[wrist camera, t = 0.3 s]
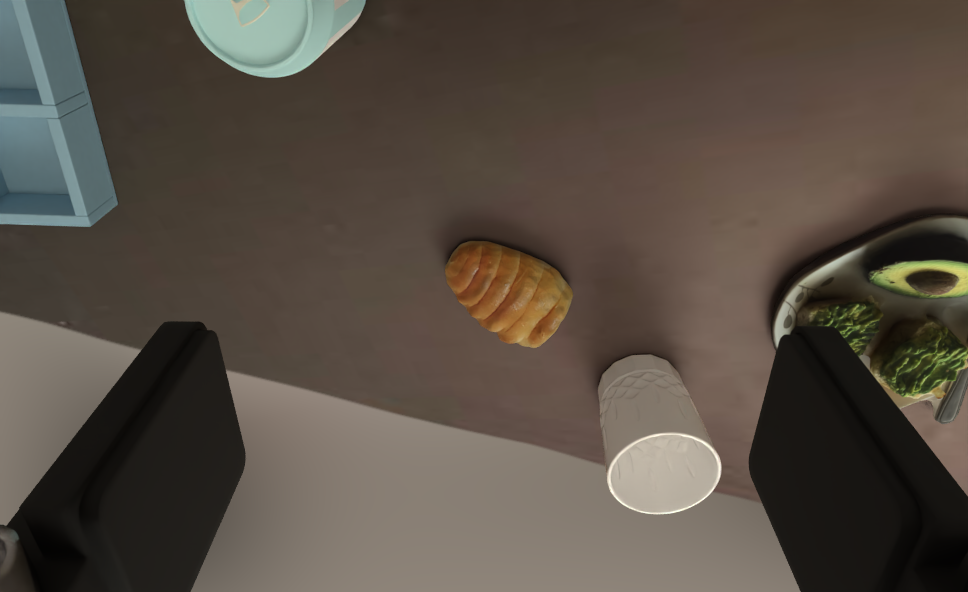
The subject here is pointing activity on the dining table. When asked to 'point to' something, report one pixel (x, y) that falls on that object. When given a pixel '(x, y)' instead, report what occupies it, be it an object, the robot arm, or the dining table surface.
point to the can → (271, 31)
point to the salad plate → (894, 307)
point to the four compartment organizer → (47, 122)
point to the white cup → (654, 438)
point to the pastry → (509, 291)
